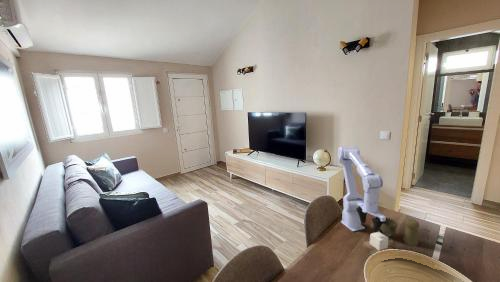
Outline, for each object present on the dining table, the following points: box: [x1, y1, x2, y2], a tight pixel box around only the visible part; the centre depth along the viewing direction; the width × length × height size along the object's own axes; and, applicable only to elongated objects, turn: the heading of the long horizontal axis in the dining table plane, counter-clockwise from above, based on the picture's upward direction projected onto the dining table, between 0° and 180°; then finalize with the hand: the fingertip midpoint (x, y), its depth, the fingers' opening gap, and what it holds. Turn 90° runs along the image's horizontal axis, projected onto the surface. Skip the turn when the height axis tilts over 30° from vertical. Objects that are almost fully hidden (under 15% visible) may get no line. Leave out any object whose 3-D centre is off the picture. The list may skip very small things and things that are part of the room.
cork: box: [402, 218, 420, 247], centre depth 100 cm, size 6×6×11 cm
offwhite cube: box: [369, 231, 389, 251], centre depth 96 cm, size 5×5×5 cm
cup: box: [380, 216, 399, 238], centre depth 106 cm, size 8×7×8 cm
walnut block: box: [362, 239, 394, 255], centre depth 96 cm, size 9×9×3 cm
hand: (369, 227), depth 99 cm, fingers open, 7 cm apart
